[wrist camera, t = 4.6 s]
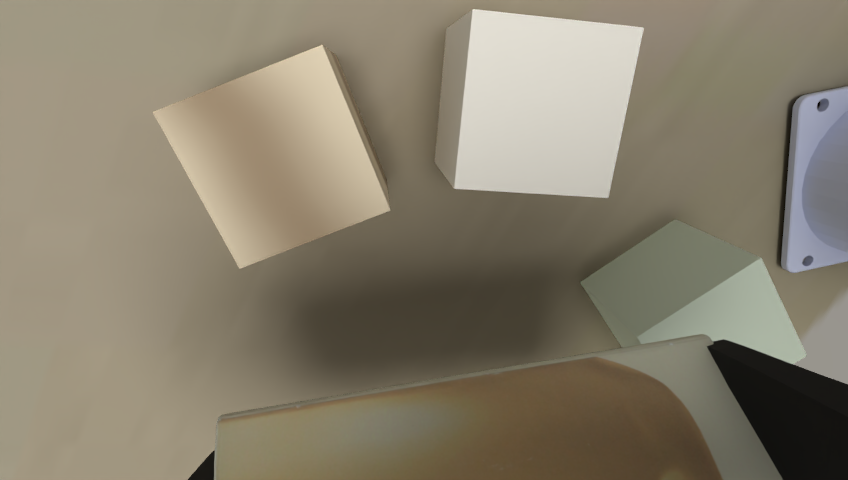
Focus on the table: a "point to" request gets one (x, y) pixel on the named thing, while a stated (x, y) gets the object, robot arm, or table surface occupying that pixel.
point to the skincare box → (514, 425)
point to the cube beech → (279, 155)
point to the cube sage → (692, 294)
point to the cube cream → (534, 103)
